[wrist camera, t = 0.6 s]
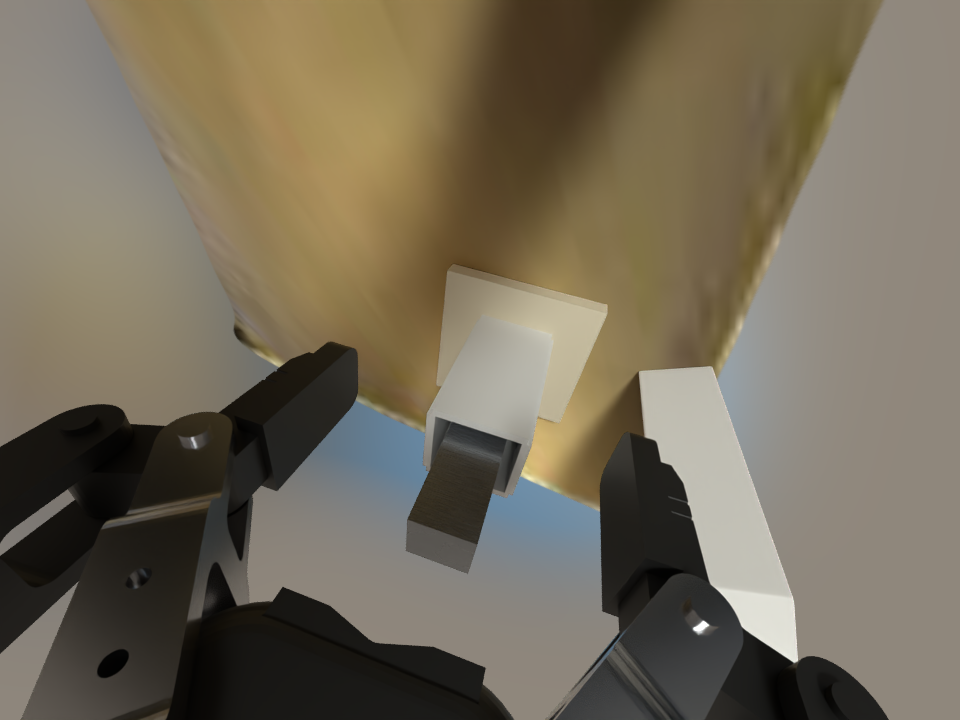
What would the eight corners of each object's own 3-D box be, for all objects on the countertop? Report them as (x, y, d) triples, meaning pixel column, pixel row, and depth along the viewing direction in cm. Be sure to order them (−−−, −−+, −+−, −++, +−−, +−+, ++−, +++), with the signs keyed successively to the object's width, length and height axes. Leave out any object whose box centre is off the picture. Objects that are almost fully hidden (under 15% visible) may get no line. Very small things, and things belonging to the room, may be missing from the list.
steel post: (491, 331, 34) (405, 518, 20) (535, 344, 34) (479, 544, 19) (484, 368, 37) (404, 553, 23) (524, 380, 37) (468, 577, 22)
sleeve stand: (452, 263, 33) (371, 361, 22) (607, 304, 31) (606, 433, 20) (440, 376, 42) (378, 487, 31) (560, 413, 40) (541, 544, 29)
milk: (710, 414, 35) (802, 723, 19) (641, 415, 38) (668, 692, 21) (712, 364, 32) (826, 683, 15) (637, 369, 34) (664, 651, 18)
